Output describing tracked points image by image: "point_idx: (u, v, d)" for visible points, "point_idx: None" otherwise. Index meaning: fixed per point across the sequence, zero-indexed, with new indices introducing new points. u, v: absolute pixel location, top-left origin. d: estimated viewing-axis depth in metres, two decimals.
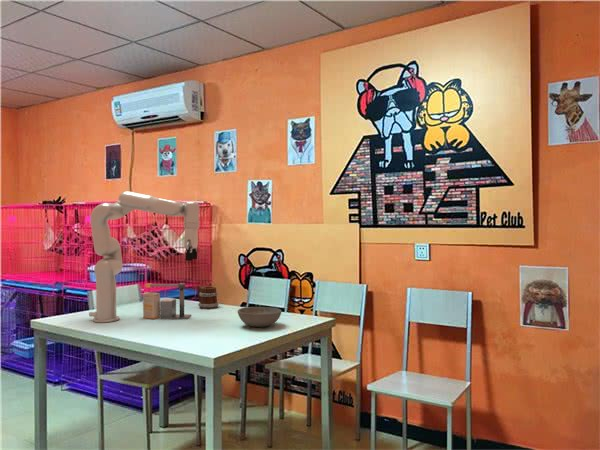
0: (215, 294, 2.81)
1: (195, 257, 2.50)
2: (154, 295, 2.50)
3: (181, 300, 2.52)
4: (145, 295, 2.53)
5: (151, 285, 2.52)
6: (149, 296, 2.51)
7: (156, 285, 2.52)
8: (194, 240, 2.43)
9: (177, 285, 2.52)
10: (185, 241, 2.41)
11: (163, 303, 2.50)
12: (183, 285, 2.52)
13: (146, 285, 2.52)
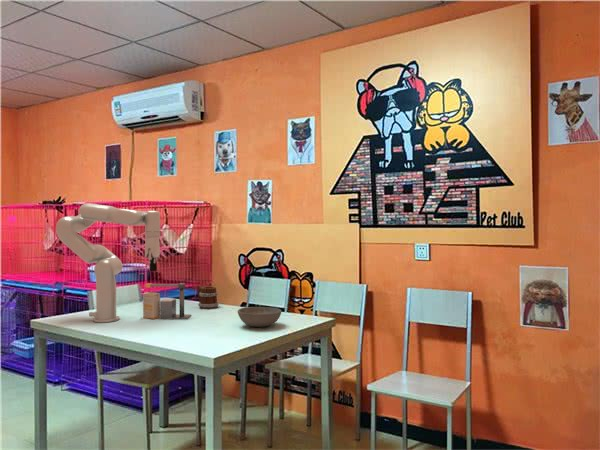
0: (215, 294, 2.81)
1: None
2: (154, 295, 2.50)
3: (181, 300, 2.52)
4: (145, 295, 2.53)
5: (151, 285, 2.52)
6: (149, 296, 2.51)
7: (156, 285, 2.52)
8: (155, 249, 2.43)
9: (177, 285, 2.52)
10: (146, 250, 2.41)
11: (163, 303, 2.50)
12: (183, 285, 2.52)
13: (146, 285, 2.52)
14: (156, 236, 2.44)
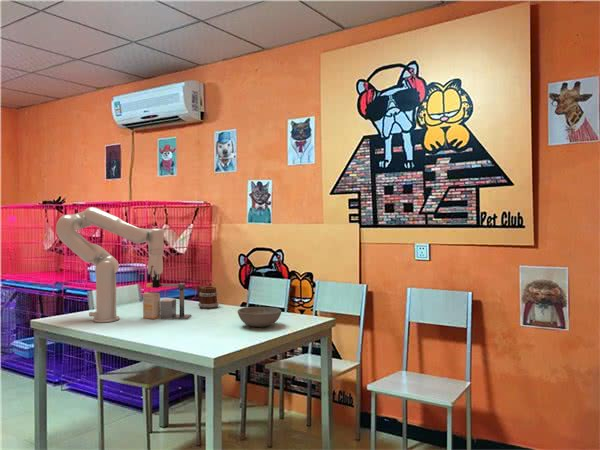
0: (215, 294, 2.81)
1: None
2: (154, 295, 2.50)
3: (181, 300, 2.52)
4: (145, 295, 2.53)
5: (152, 285, 2.54)
6: (149, 296, 2.51)
7: None
8: (158, 266, 2.49)
9: (177, 285, 2.52)
10: (149, 267, 2.47)
11: (163, 303, 2.50)
12: (183, 285, 2.52)
13: (147, 285, 2.53)
14: (159, 254, 2.49)
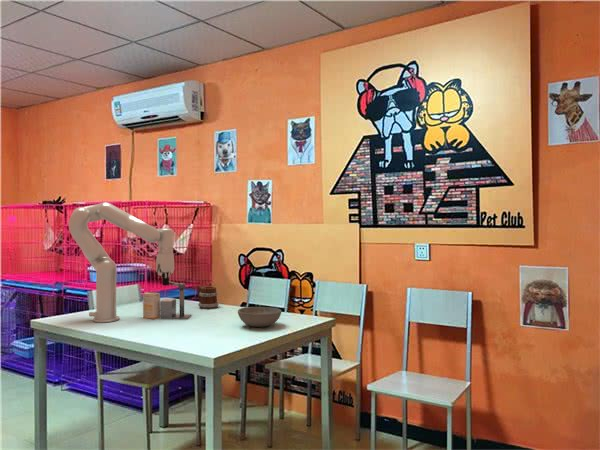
0: (215, 294, 2.81)
1: None
2: (154, 295, 2.50)
3: (181, 300, 2.52)
4: (145, 295, 2.53)
5: None
6: (149, 296, 2.51)
7: None
8: (165, 264, 2.57)
9: None
10: (156, 265, 2.57)
11: (163, 303, 2.50)
12: (180, 285, 2.51)
13: None
14: (166, 252, 2.57)
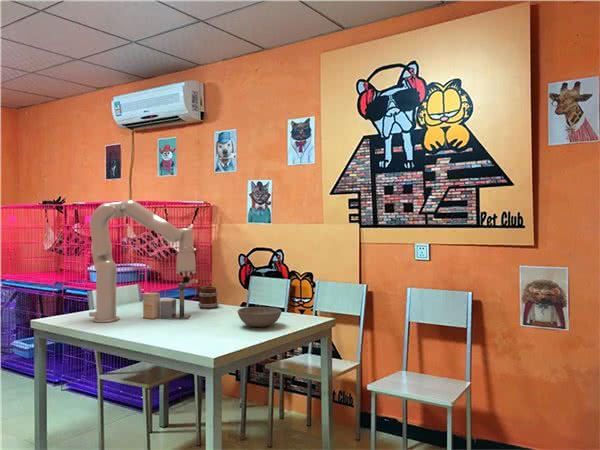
0: (215, 294, 2.81)
1: None
2: (154, 295, 2.50)
3: (181, 300, 2.52)
4: (145, 295, 2.53)
5: None
6: (149, 296, 2.51)
7: None
8: (180, 264, 2.63)
9: None
10: (176, 264, 2.66)
11: (163, 303, 2.50)
12: (178, 285, 2.52)
13: None
14: (181, 252, 2.62)
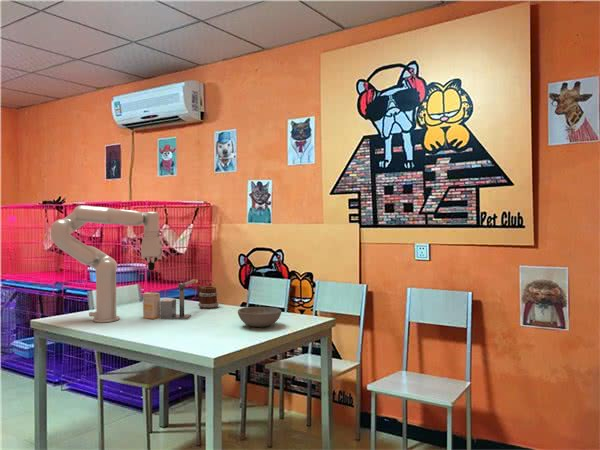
0: (215, 294, 2.81)
1: None
2: (154, 295, 2.50)
3: (181, 300, 2.52)
4: (145, 295, 2.53)
5: None
6: (149, 296, 2.51)
7: None
8: (144, 249, 2.51)
9: None
10: None
11: (163, 303, 2.50)
12: (178, 285, 2.52)
13: None
14: (144, 236, 2.51)
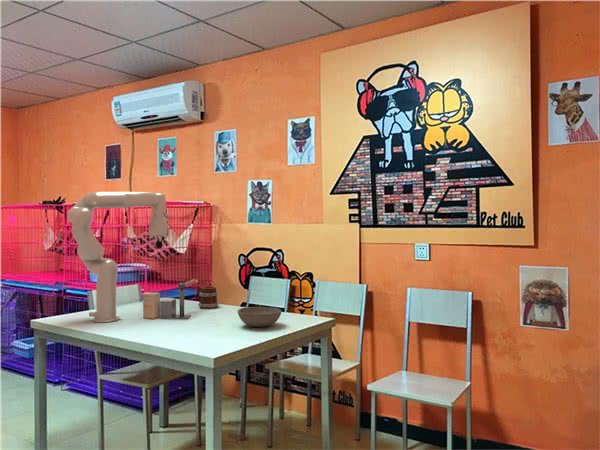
0: (215, 294, 2.81)
1: None
2: (154, 295, 2.50)
3: (181, 300, 2.52)
4: (145, 295, 2.53)
5: None
6: (149, 296, 2.51)
7: None
8: (152, 228, 2.66)
9: None
10: None
11: (163, 303, 2.50)
12: (178, 285, 2.52)
13: None
14: (152, 216, 2.66)
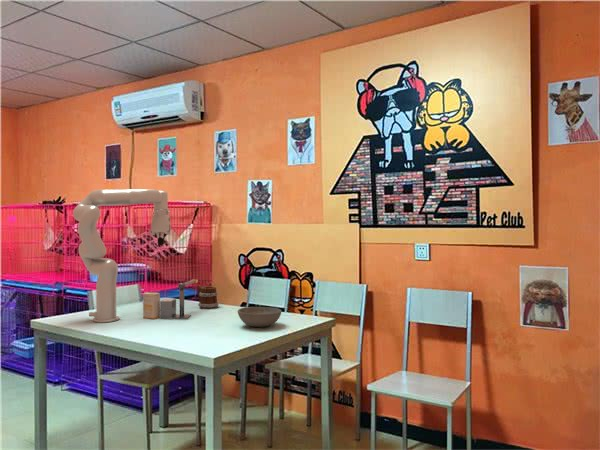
0: (215, 294, 2.81)
1: None
2: (154, 295, 2.50)
3: (181, 300, 2.52)
4: (145, 295, 2.53)
5: None
6: (149, 296, 2.51)
7: None
8: (154, 225, 2.70)
9: None
10: None
11: (163, 303, 2.50)
12: (178, 285, 2.52)
13: None
14: (154, 214, 2.70)
